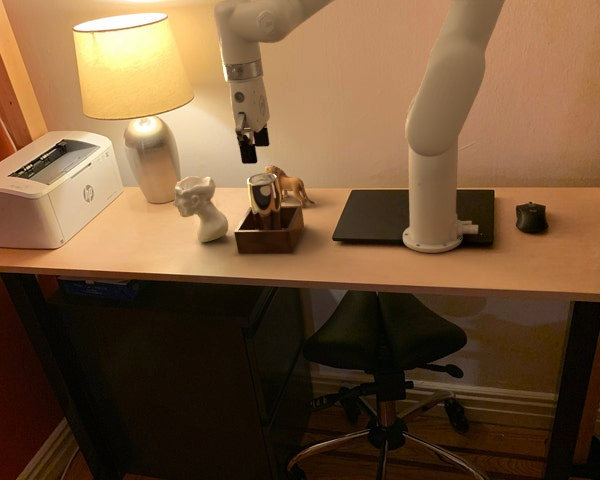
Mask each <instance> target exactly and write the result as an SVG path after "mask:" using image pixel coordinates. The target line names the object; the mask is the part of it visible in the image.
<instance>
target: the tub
mask: <svg viewBox="0 0 600 480" xmlns="http://www.w3.org/2000/svg"><path fill="white" fill-rule="evenodd" d="M281 225H282V229H283V230H259V228H258V224H257V221H256V219H255V216H254V213H253V211H252V208H251V206H249V208H247V210H246V212H245V213H244V215H243V217H242V219H241V220H240V221H239V223H238V224H237V227H236V228H235V229H234V231H233V234H234V239H235V244H236V249H237V252H238V254H240V255H241V254H243V255H246V254H247V255H248V254H249V255H251V254H252V255H253V254H257V255H258V254H261V255H263V254H264V255H265V254H266V255H269V254H271V255H273V254H274V255H278V254H282V255H284V254H285V255H287V254H288V255H289V254H290V255H291V254H293V253H294V251H295V249H296V248H297V245H298V242H299V240H300V238H301V236H302V233H303V231H304V229H305V223H304V214H303V208H302V206H300V205H281Z"/></svg>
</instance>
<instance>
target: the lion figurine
mask: <svg viewBox="0 0 600 480" xmlns="http://www.w3.org/2000/svg"><path fill="white" fill-rule="evenodd" d="M264 173H272V174H275V175H276V176H277V180H278V184H279V188H280V193H281V202H283V201H284V198H287V197H288V195H289V194H288V193H289V192H292V193H293V194H294V196H295V197H296V198H297V200H298V201H300V203H301V204H300V205H299V206H302V209H303V208H305V207H306V202H305V201H306V200H307V202H309V203H310V204H311V205H315V204H316V203H315V201H313V200H311V199H310V198H309V197H308V194H307V192H306V188H305V184H304V182H303V180H302V179H300V177H291V176H288V175H287V174H286V172H285V171H284V170H283V169H281V168H280V167H278V166H275V165H271V164H269V165H267V166H265V167H264Z"/></svg>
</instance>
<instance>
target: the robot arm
mask: <svg viewBox="0 0 600 480" xmlns="http://www.w3.org/2000/svg"><path fill="white" fill-rule="evenodd" d="M333 2H335V0H252V1H251V0H222V1H218V2H217V3H216V4H215V6H214V8H213V14H214V21H215V27H216V32H217V33H216V34H217V38H218V45H219V50H220V56H221V62H222V67H223V74H224V80H225V82H227V83H229V95H230V96H229V97H230V106H231V113H232V119H233V123H234V131H235V135H236V140H237V145H238V147H239V152H240V158H241V159H240V160H241V163H242V164H243V165H253V164H254V165H255V164H258V155H257V154H258V153H257V149H256V148H259V147H260V148H262V147H263V148H264V147H269V146H270V144H271V143H270V138H269V131H268V121H269V120H270V117H271V115H270V108H269V104H268V98H267V92H266V87H265V83H264V78H263V77H264V69H263V62H262V61H263V60H262V53H261V46H260V43H262V44H263V43H264V44H276V43H279V42H281V41H283V40H285V39H286V38H287V37H288V36H289V35H290V34H291V33H292V32H293V31H295V30H296V29H297V28H298V27H299V26H301V25H302V24H303V23H305V22H306V21H307V20H309V19H310V18H311V17H313V16H314V15H315V14H317V13H318V12H320V11H322V9H324V8H325V7H327V6H328V5H330V4H331V3H333ZM505 2H506V0H451V1H450V4H449V7H448V11H447V13H446V16H445V19H444V20H443V23H442V26H441V28H440V31H439V33H438V36H437V38H436V40H435V42H434V44H433V45H432V48H431V50H430V52H429V55H428V56H429V57H428V61H427V65H426V69H425V72H424V74H423V77H422V80H421V83H420V86H419V88H418V91H417V93H416V94H415V95H413V97H412V99H411V100H410V102H409V105H408V108H407V113H406V116H405V117H406V120H405V124H404V137H405V140H406V143H407V145H408V202H409V203H408V204H409V205H408V206H409V207H408V209H409V211H408V212H409V226H408V227H407V228H405V230H404V231H403V233H402V243H403V244H404V245H405V246H406V247H407V248H409V249H411V250H413V251H416V252H420V253H426V254H435V253H436V254H437V253H444V252H447V251H450V250H453V249H455V248H457V247H458V246H460V244H461V243H462V242H463V239H464V235H478V234H479V224H473V221H472V220H461V219H458V213H457V192H458V191H457V188H458V186H457V185H458V180H457V179H458V163H459V161H458V156H459V136H460V135H461V131H462V130H463V127H464V124H465V123H466V120H467V119H468V117H469V114H470V111H471V109H472V107H473V104H474V102H475V100H476V98H477V96H478V94H479V91H480V89H481V87H482V86H481V85H482V83H483V80H484V77H485V72H486V51H487V48H488V45H489V43H490V40H491V37H492V35H493V33H494V30H495V27H496V25H497V22H498V19H499V17H500V15H501V12H502V9H503V7H504V4H505ZM461 238H462V239H461ZM460 239H461V240H460Z"/></svg>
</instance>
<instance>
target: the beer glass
mask: <svg viewBox="0 0 600 480" xmlns="http://www.w3.org/2000/svg"><path fill="white" fill-rule="evenodd" d="M246 182H247V191H248V193H247V194H248V199H249V204H250V207H251V208H252V211H253V213H254V216H255V219H256V221H257V224H258V228H259V229H258V230H284V229H282V225H281V206H282V201H281V193H280V188H279V184H278V180H277V176H276V175H275V174H272V173H265V172H262V173H257V174H254V175H251V176H250V177H248V178H247V181H246Z"/></svg>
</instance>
